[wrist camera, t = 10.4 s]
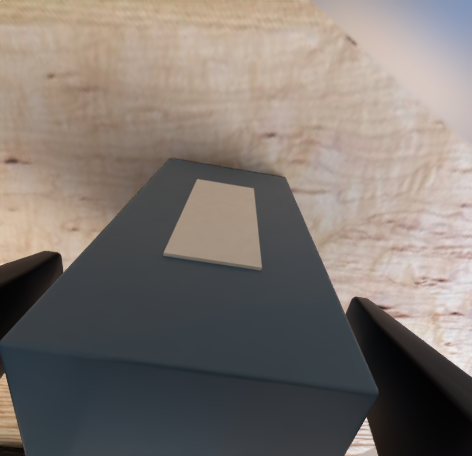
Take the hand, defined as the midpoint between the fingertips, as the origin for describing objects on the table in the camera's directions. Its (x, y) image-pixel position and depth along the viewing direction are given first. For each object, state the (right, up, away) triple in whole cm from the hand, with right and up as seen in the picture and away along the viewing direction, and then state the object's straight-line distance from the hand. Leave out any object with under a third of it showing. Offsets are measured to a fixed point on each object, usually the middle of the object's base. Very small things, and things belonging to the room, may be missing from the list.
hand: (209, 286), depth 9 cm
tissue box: (-1, -2, +3) cm, 4 cm away
